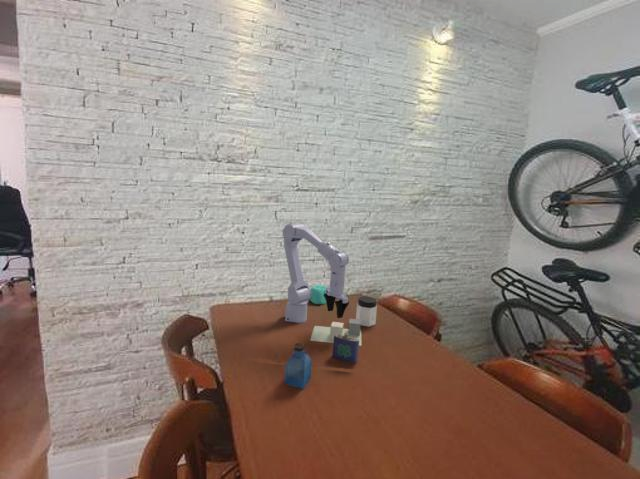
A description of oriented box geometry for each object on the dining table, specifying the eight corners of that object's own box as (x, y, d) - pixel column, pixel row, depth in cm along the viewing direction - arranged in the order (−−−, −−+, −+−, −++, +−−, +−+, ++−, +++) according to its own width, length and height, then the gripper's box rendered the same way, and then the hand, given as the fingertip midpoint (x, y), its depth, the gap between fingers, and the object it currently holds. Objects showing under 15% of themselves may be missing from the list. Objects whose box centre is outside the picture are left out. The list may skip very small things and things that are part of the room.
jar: (366, 330, 144) (368, 303, 142) (352, 324, 150) (354, 298, 148) (378, 325, 150) (380, 299, 148) (364, 319, 156) (366, 294, 154)
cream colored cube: (329, 337, 132) (330, 326, 132) (331, 333, 137) (332, 321, 136) (341, 339, 132) (342, 327, 131) (342, 334, 136) (343, 323, 135)
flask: (358, 362, 117) (360, 334, 115) (356, 366, 114) (358, 337, 113) (333, 356, 120) (335, 328, 119) (330, 360, 118) (332, 331, 116)
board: (309, 342, 130) (310, 333, 129) (314, 327, 143) (315, 319, 143) (361, 348, 128) (362, 338, 127) (361, 332, 141) (361, 323, 141)
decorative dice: (317, 298, 181) (318, 284, 180) (329, 301, 177) (330, 287, 176) (308, 301, 175) (309, 287, 174) (320, 305, 170) (321, 290, 169)
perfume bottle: (310, 378, 106) (312, 343, 104) (303, 389, 100) (305, 352, 98) (292, 373, 108) (294, 339, 106) (284, 384, 102) (286, 347, 100)
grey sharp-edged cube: (348, 334, 136) (349, 323, 136) (348, 329, 141) (349, 318, 140) (359, 335, 136) (360, 324, 135) (359, 330, 140) (360, 319, 140)
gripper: (320, 277, 138) (318, 308, 140) (337, 288, 125) (335, 322, 128) (334, 276, 141) (332, 306, 144) (353, 286, 129) (350, 319, 131)
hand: (334, 314), depth 136 cm, fingers open, 7 cm apart
